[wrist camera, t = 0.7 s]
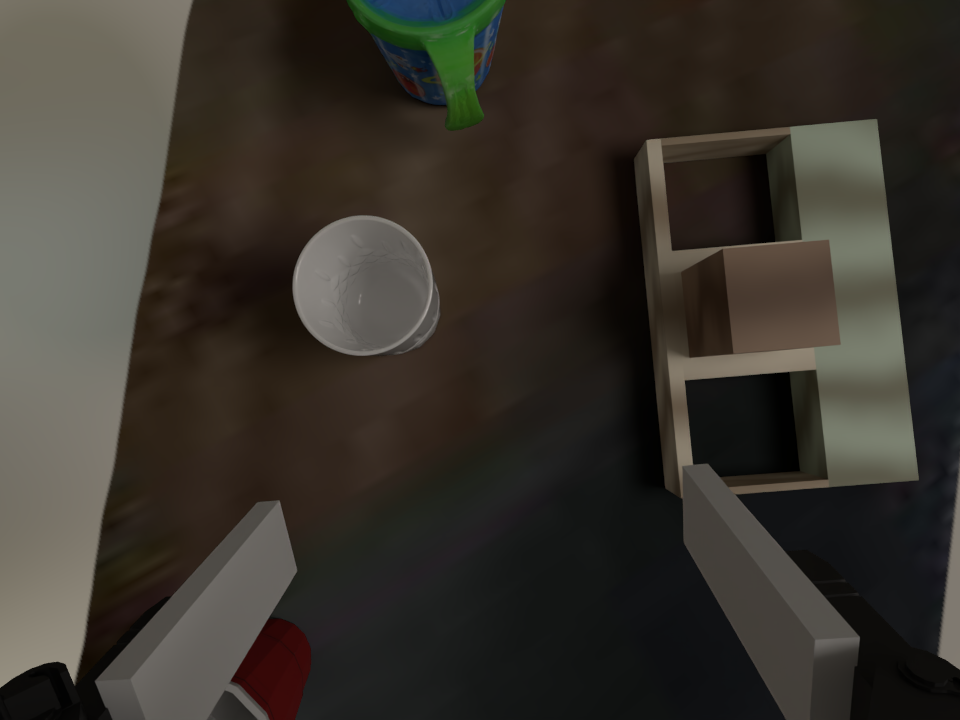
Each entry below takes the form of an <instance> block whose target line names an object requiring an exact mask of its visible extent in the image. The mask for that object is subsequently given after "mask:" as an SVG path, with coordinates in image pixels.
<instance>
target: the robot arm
mask: <svg viewBox="0 0 960 720" xmlns="http://www.w3.org/2000/svg"><path fill="white" fill-rule="evenodd" d="M682 470H683V528H684V544H685V545H686V547H687V549H688V551H689V552H690V554H691V556H692V557H693V559H694V561H695V563H696V564H697V566H698V568H699V570H700V571H701V573H702V575H703V576H704V578H705V580H706V582H707V583H708V585H709V587H710V589H711V590H712V592H713V594H714V595H715V597H716V599H717V601H718V602H719V604H720V606H721V608H722V609H723V611H724V613H725V614H726V616H727V618H728V620H729V621H730V623H731V625H732V627H733V628H734V630H735V632H736V633H737V635H738V637H739V639H740V640H741V642H742V644H743V646H744V647H745V649H746V651H747V652H748V654H749V656H750V658H751V659H752V661H753V663H754V665H755V666H756V668H757V670H758V671H759V673H760V675H761V677H762V678H763V680H764V682H765V684H766V685H767V687H768V689H769V690H770V692H771V694H772V696H773V697H774V699H775V701H776V703H777V704H778V706H779V708H780V709H781V711H782V713H783V715H784V716H785V718H786V720H960V670H959V669H958V668H956V667H955V666H953V665H952V664H951V663H949V662H948V661H946V660H945V659H942V658H940V657H938V656H936V655H934V654H932V653H930V652H928V651H924V650H920V649H917V648H913V647H911V646H910V645H909V644H908V643H907V642H906V641H905V640H904V639H903V638H902V637H901V636H900V635H899V634H898V633H897V632H896V631H895V630H894V629H893V628H892V627H891V626H890V625H889V624H888V623H887V622H886V621H885V620H884V619H883V618H882V617H881V616H880V615H879V614H878V613H877V612H876V611H875V610H874V609H873V608H872V607H871V606H870V605H869V604H868V603H867V601H866V600H865V599H864V598H863V597H862V596H861V597H860V596H859V595H858V592H857V591H856V590H855V589H854V588H853V587H852V586H851V585H850V584H849V583H846V582H845V579H844V578H843V577H842V576H841V575H840V574H839V573H838V572H837V571H836V570H835V569H834V568H833V567H832V566H831V565H830V564H829V563H828V562H826V561H824V560H823V559H821V558H819V557H818V556H816V555H814V554H813V553H811V552H809V551H808V550H798V551H784V550H783V549H782V548H781V547H780V546H779V545H778V543H777V542H776V541H775V540H774V539H773V538H772V537H771V535H770V534H769V533H768V532H767V531H766V530H765V529H764V527H763V526H762V525H761V524H760V523H759V522H758V521H757V519H756V518H755V517H754V516H753V515H752V514H751V513H750V511H749V510H748V509H747V508H746V507H745V506H744V505H743V504H742V502H741V501H740V500H739V499H738V498H737V497H736V496H735V494H734V493H733V492H732V491H731V490H730V489H729V488H728V486H727V485H726V484H725V483H724V482H723V481H722V480H721V478H720V477H719V476H718V475H717V474H716V473H715V472H714V470H713V469H712V468H711V467H710V466H709V465H708V464H699V465H688V466H682ZM296 572H297V568H296V564H295V560H294V556H293V552H292V548H291V544H290V540H289V536H288V532H287V528H286V524H285V521H284V517H283V513H282V509H281V505H280V501H268V502H257V503H256V505H255V506H254V507H253V508H252V509H251V510H250V511H249V512H248V513H247V514H246V516H245V517H244V518H243V519H242V520H241V521H240V522H239V523H238V524H237V525H236V527H235V528H234V529H233V530H232V531H231V532H230V533H229V534H228V535H227V536H226V538H225V539H224V540H223V541H222V542H221V543H220V544H219V545H218V546H217V547H216V549H215V550H214V551H213V552H212V553H211V554H210V555H209V556H208V557H207V558H206V560H205V561H204V562H203V563H202V564H201V565H200V566H199V567H198V568H197V569H196V571H195V572H194V573H193V574H192V575H191V576H190V577H189V578H188V579H187V580H186V582H185V583H184V584H183V585H182V586H181V587H180V588H179V589H178V590H177V591H176V593H175V594H174V595H173V596H171V597H165V598H164V599H162V600H161V601H160V602H158V603H157V604H156V605H154V606H153V607H151V608H150V609H149V610H147V611H146V612H145V613H144V614H143V615H142V616H141V617H140V618H139V619H138V620H137V621H136V622H135V623H134V624H133V626H132V627H131V628H130V631H128V632H126V633H125V634H124V635H123V636H122V637H121V638H120V639H119V640H118V641H117V645H114V646H113V647H112V648H111V649H110V650H109V651H108V652H107V653H106V654H105V655H104V656H103V657H102V658H101V659H100V661H99V662H98V663H97V664H96V665H95V666H94V667H93V668H92V669H91V670H90V671H89V672H88V673H87V674H86V675H85V676H84V677H83V679H82V680H81V681H80V682H79V683H78V684H77V685H76V686H74V684H73V681H72V679H71V677H70V674H69V672H68V669H67V667H66V665H65V664H64V663H60V662H52V663H46V664H43V665H41V666H38V667H35V668H32V669H30V670H28V671H26V672H24V673H22V674H20V675H19V676H17V677H15V678H13V679H12V680H10V681H9V682H8V683H6V684H5V685H4V686H2V687H1V688H0V720H207V718H208V717H209V715H210V713H211V712H212V710H213V709H214V707H215V705H216V704H217V702H218V700H219V699H220V697H221V695H222V694H223V692H224V690H225V689H226V687H227V686H228V684H229V682H230V681H231V679H232V677H233V676H234V674H235V672H236V671H237V669H238V667H239V666H240V664H241V663H242V661H243V659H244V658H245V656H246V654H247V653H248V651H249V649H250V648H251V646H252V644H253V643H254V641H255V640H256V638H257V636H258V635H259V633H260V631H261V630H262V628H263V626H264V625H265V623H266V621H267V620H268V618H269V617H270V615H271V613H272V612H273V610H274V608H275V607H276V605H277V603H278V602H279V600H280V598H281V597H282V595H283V594H284V592H285V590H286V589H287V587H288V585H289V584H290V582H291V580H292V579H293V577H294V575H295V574H296Z"/></svg>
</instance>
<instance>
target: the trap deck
mask: <svg viewBox="0 0 960 720" xmlns="http://www.w3.org/2000/svg"><path fill="white" fill-rule="evenodd" d="M760 154H766V158H767V167H768V176H769V186H770V195H771V204H772V214H773V223H774V233H775V242H772V243H761V244H749V245H738V246H726V247H714V248H703V249H691V250H680V251H672V249H671V239H670V228H669V218H668V208H667V198H666V188H665V178H664V167H663V163H671V162H682V161H693V160H704V159H715V158H726V157H738V156H749V155H760ZM634 168H635V178H636V189H637V199H638V209H639V220H640V230H641V241H642V251H643V261H644V272H645V282H646V293H647V303H648V314H649V324H650V334H651V345H652V355H653V366H654V376H655V386H656V397H657V407H658V418H659V428H660V438H661V449H662V459H663V470H664V480H665V488H666V489H667V490H669V491H670V492H672V493H674V494H675V495H677V496H678V497H680V498H683V470H682V466H688V465H693V462H692V452H691V442H690V432H689V421H688V411H687V401H686V391H685V381H684V380H693V379H706V378H718V377H730V376H743V375H755V374H767V373H779V372H789V373H790V382H791V392H792V401H793V410H794V420H795V429H796V438H797V448H798V457H799V466H800V471H794V472H781V473H768V474H755V475H742V476H729V477H720V478H721V480H722V481H723V482H724V483H725V484H726V485H727V486H728V488H729V489H730V490H731V491H732V492H733V493H734V494H744V493H757V492H770V491H783V490H796V489H809V488H822V487H835V486H848V485H861V484H874V483H887V482H900V481H913V480H919V478H918V469H917V461H916V452H915V443H914V435H913V426H912V418H911V409H910V400H909V392H908V383H907V375H906V366H905V357H904V349H903V340H902V332H901V323H900V314H899V306H898V297H897V289H896V280H895V271H894V263H893V254H892V246H891V237H890V228H889V220H888V211H887V203H886V194H885V185H884V177H883V168H882V160H881V151H880V142H879V134H878V125H877V119H872V120H861V121H850V122H839V123H828V124H817V125H806V126H795V127H784V128H773V129H762V130H751V131H740V132H729V133H718V134H707V135H696V136H685V137H674V138H663V139H652V140H646V141H645V143H644V144H643V146H642V147H641V149H640V151H639V152H638V154H637V155H636V157H635V158H634ZM818 240H829V243H830V252H831V261H832V270H833V279H834V288H835V297H836V306H837V315H838V324H839V333H840V342H841V345H833V346H822V347H811V348H801V349H790V350H780V351H768V352H756V353H744V354H731V355H719V356H707V357H695V358H690V357H689V347H688V337H687V327H686V317H685V306H684V296H683V286H682V276H681V272H682V271H684V270H685V269H687V268H689V267H691V266H693V265H694V264H696V263H698V262H700V261H702V260H703V259H705V258H707V257H709V256H711V255H712V254H714V253H716V252H718V251H720V250H721V249H726V248H737V247H749V246H760V245H772V244H784V243H795V242H807V241H818Z"/></svg>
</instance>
